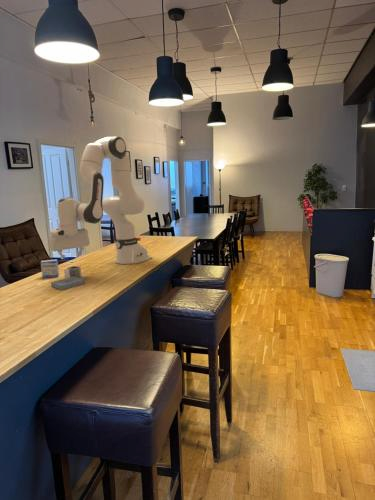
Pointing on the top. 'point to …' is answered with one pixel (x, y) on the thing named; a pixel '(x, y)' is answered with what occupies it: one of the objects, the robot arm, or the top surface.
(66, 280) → the shaft block
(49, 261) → the medicine box
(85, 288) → the top surface
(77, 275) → the tube
